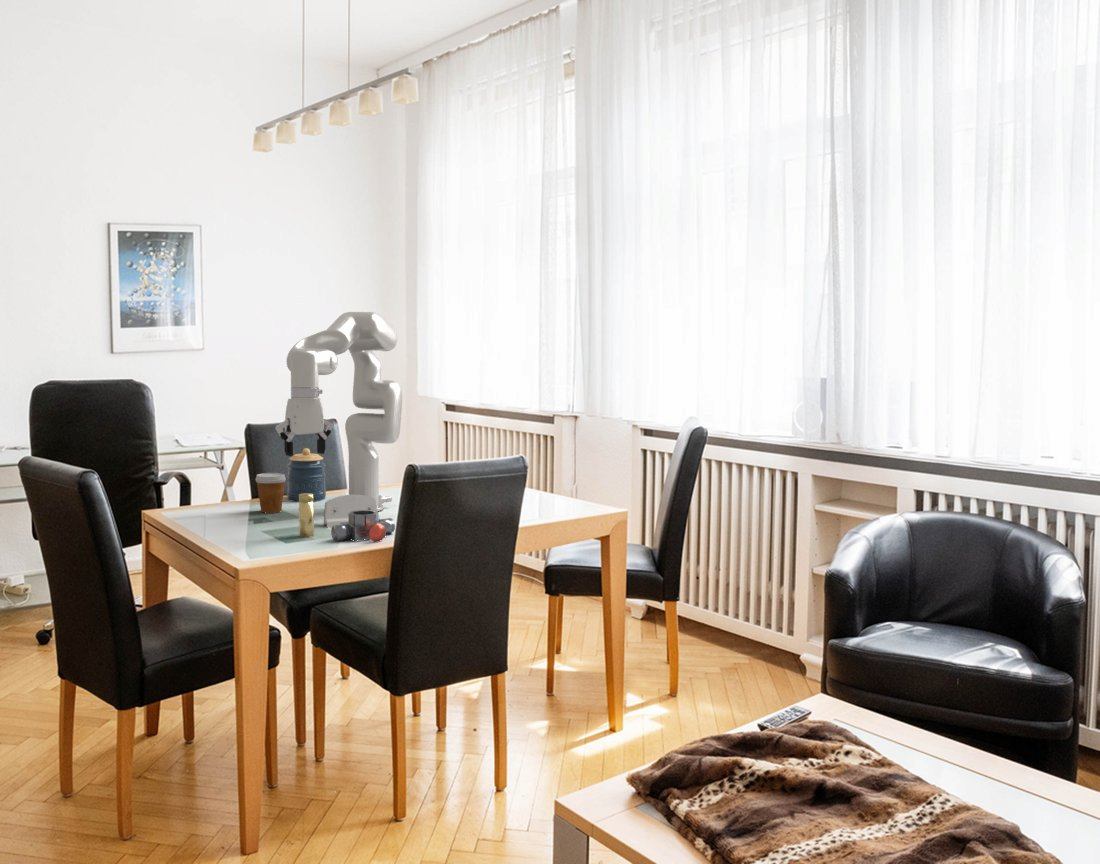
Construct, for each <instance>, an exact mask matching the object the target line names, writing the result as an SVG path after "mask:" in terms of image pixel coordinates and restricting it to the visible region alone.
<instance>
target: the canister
mask: <svg viewBox="0 0 1100 864" xmlns="http://www.w3.org/2000/svg"><path fill="white" fill-rule="evenodd" d="M323 460H324V457H323V456H321V455H320V453H311V450H310V449H309V447H306V448H305V447H304V448H303V449H302V452H301V453H296V454H293V456H290V457H289V461H290V462H289V463H287V465H286V467H287V469H288V473H287V475H286V477H287V495H286V496H287V499H288V500H289V501H291V502H299V494H302V493H312V494H313V501H314V502H318V501H322V500H325V499H326V496H327V490H326V475H327V474H326V473H325V467H326V466H327V464H326V463H325V462H323Z"/></svg>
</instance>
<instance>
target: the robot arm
mask: <svg viewBox="0 0 1100 864" xmlns="http://www.w3.org/2000/svg"><path fill="white" fill-rule="evenodd" d="M397 342H398V335H397V331H396V329H395V328H394V326H393V324H391V323H390V322H389V321H388V320H387V319H386V318H385V317H383V316H382V315H380V314H378V313H376V312H373V311H347V312H344V313H342V314H341V315H339V316H338V317H337V318H336V319H335V320H334V322H332V324H331V325H329V327H327V329H325V330H321V331H319V332H316V333H314V334H311V335H309V336H307V337H304V338H302V339H300V340H298V341H297V342H296V343H295V344H294V345H293V346H292V347H291V348H290V350H289V352H288V353H287V356H286V367H287V369H288V370H289V372H290V398H288V399H287V402H286V403H287V404H286V408H285V416H284V419H285V420H284V421H282V422H280V423H279V424H277V425H275V427H274V429H275V431H276V432H277V434H278V437H280V438H281V439H282V441H283V442H284V453H285V456H288V457H292V456H293V455H294V442H293V441H292V440H293V439H294V437H295V436H296V435H301V436H302V435H316V436H317V440H316V450H317V451H316V452H317V453H316V454H322V455H324V454H325V452H326V440H327V439H328V437H329V436H330V435H331V433H332V431H333V427H334V426H335V425H334V423H333V422H331V421H329V420H328V419H326V418H324V408H323V404H322V400H321V398H319V397H320V395H322V394H323V393H324V391H323V389H320V387H319V376H328V375H331V374H333V373H334V372H335V371H336V370H337V369H338V365H339V360H338V355H342V354H343V353H346V352H347V351H349V354H350V355H351V358H352V360H353V364H354V373H353V382H352V383H353V386H352V402H353V405H354V406H355V407H356V408H357V409H358V408H359V409H361V410H365V409H366V410H378V411H379V410H381V411H382V410H383V413H371V412H358V413H357V412H356V413H352V414H350V415H349V416H348V417H347V418H346V420H345V423H344V424H345V426H344V427H345V429H344V430H345V435H346V440H347V446H348V447H347V449H348V450H347V451H348V495H365V496H369V497H372V498H374V499H375V501H376V505H377V510H378V511H379V510H382V509H383V508H384V507H385V506H384V505H383V504H384V503H391V502H392V501H393V498H392V496H391V495H388V496H382V495H381V494H380V492H379V491H380V490H379V488H380V487H379V486H380V485H379V477H380V475H379V464H380V463H379V454H378V452H377V450H376V448H375V447H374V445H373V444H394V443H396V442H397V441H398V440H399V436H400V433H401V420H402V409H403V392H402V388H401V385H400V384H399V383H398V382H397V381H394V380H390V379H389V380H387V379H382V378H381V377H382V375H381V373H382V365H381V362H380V360H379V358H378V357H377V355H376V354H375V353H374V352H390V351H392V350H394V349H395V348H396V346H397ZM325 426H326V427H325ZM325 428H326V429H325ZM283 429H284V430H283ZM324 429H325V430H324ZM383 510H384V509H383ZM383 510H382V511H383ZM379 512H380V511H379Z"/></svg>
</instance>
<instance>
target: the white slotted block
mask: <svg viewBox="0 0 1100 864" xmlns="http://www.w3.org/2000/svg"><path fill="white" fill-rule="evenodd" d="M358 510H372V511H376V512H378V510H377V505H376V501H375V499H374V498H372V497H369V496H365V495H349V494H345V495H339V496H335V497H333V498H330V499H328V500H326V502H324V513H323V526H326V528H327V527H333V526H335V525H341V523H345V522H349V520H348V513H350V512H351V511H358ZM379 519H381V518H380V515H379V512H378V520H379Z"/></svg>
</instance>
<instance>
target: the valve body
mask: <svg viewBox="0 0 1100 864" xmlns="http://www.w3.org/2000/svg"><path fill="white" fill-rule="evenodd" d="M378 514H379V512H376V511H372V510H358V511H351V512H350V513H348V520H349V522H345V523H341V525H335V526H333V527H332V528H330V534H331V539H333V541H334V540H335V541H334V542H339V541H340V540H342V541H347V540H346V539H352V540H354V541H357V540H364V539H371V540H370V541H372V542H375V541H379V542H381V541H383V539H384V538H386V537H387V534H386V533H390V534H393V533H394V532H395V530H396V525H395V521H394V520H393V518H391V517H387V518H380V519H379V520H378ZM392 532H393V533H392ZM385 536H386V537H385ZM380 540H381V541H380ZM354 541H353V542H354ZM364 541H365V540H364ZM340 542H341V541H340ZM357 542H358V541H357Z"/></svg>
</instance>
